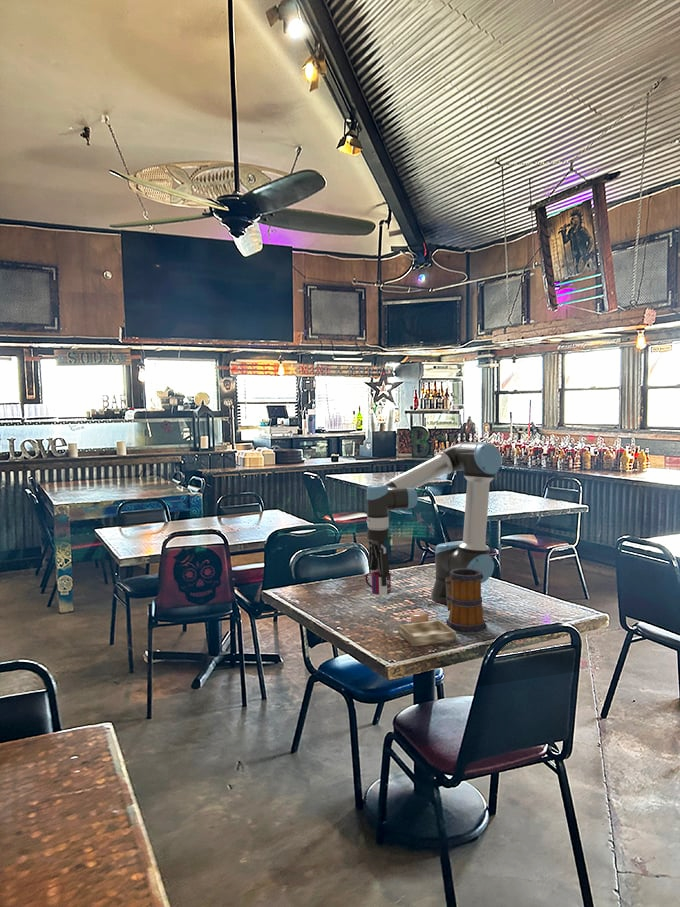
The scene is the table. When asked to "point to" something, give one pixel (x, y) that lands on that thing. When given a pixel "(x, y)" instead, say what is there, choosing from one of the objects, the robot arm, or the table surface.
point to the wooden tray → (427, 633)
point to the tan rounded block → (419, 617)
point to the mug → (465, 601)
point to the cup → (376, 582)
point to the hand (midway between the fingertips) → (378, 591)
